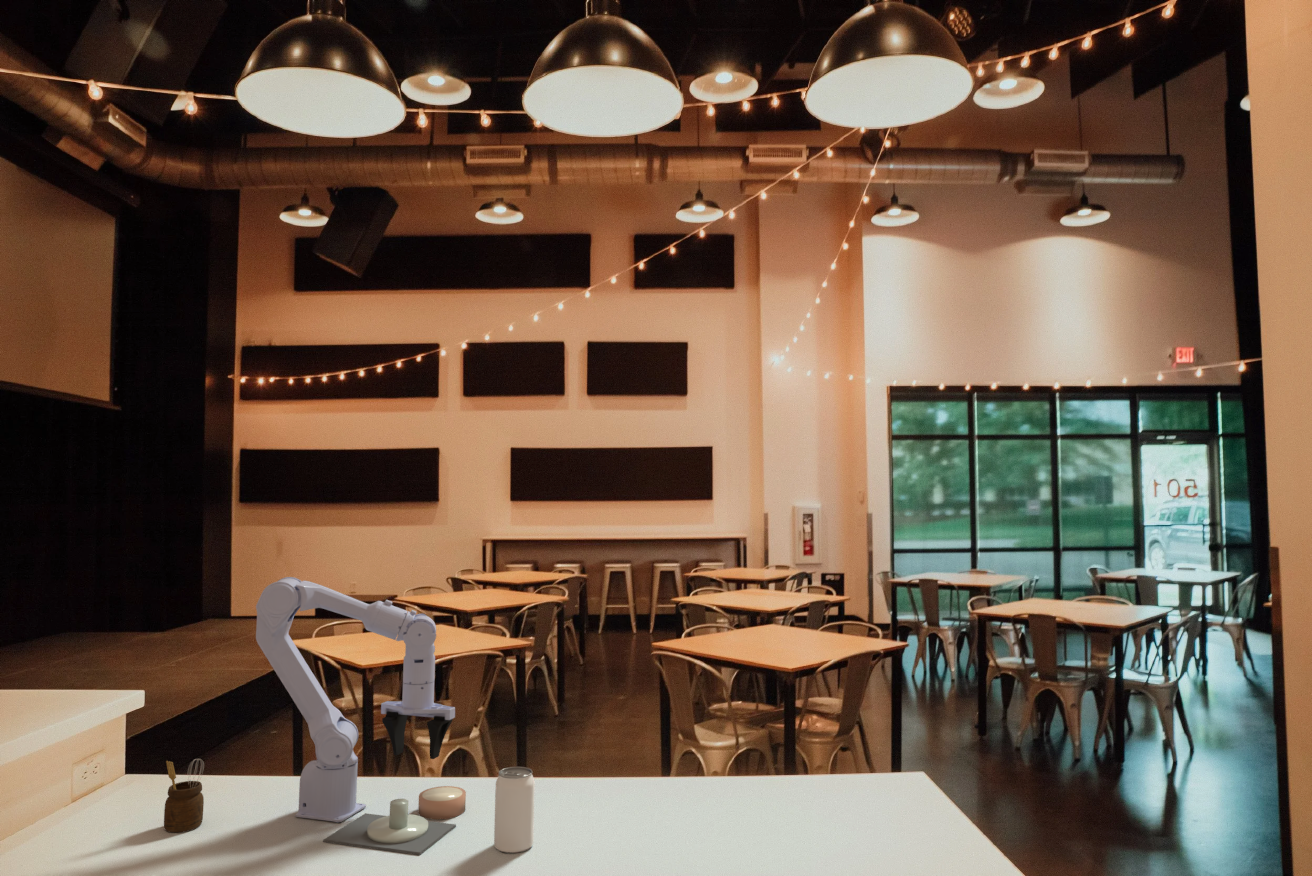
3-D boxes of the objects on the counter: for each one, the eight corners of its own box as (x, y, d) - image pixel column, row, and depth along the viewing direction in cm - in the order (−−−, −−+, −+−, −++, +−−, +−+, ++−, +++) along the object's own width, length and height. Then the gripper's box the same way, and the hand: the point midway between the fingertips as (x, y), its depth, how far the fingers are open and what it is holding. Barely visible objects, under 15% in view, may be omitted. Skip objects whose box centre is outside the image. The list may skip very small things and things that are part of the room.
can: (525, 855, 135) (527, 779, 135) (487, 851, 136) (489, 776, 137) (538, 839, 141) (540, 767, 142) (502, 836, 142) (504, 764, 143)
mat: (323, 841, 139) (323, 839, 139) (365, 815, 151) (365, 813, 151) (420, 854, 134) (420, 852, 134) (455, 826, 146) (455, 824, 146)
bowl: (409, 816, 150) (409, 799, 151) (432, 800, 158) (433, 783, 159) (451, 821, 148) (452, 804, 148) (473, 804, 156) (473, 788, 157)
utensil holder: (210, 823, 146) (213, 753, 147) (176, 836, 140) (180, 763, 141) (187, 817, 148) (191, 748, 149) (153, 830, 143) (157, 758, 143)
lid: (354, 836, 140) (355, 807, 140) (392, 814, 149) (394, 787, 149) (403, 847, 136) (405, 817, 136) (439, 824, 146) (441, 796, 146)
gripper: (372, 682, 155) (369, 757, 154) (442, 688, 151) (439, 765, 150) (394, 675, 161) (391, 746, 160) (461, 680, 157) (459, 754, 156)
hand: (416, 755), depth 155 cm, fingers open, 7 cm apart
